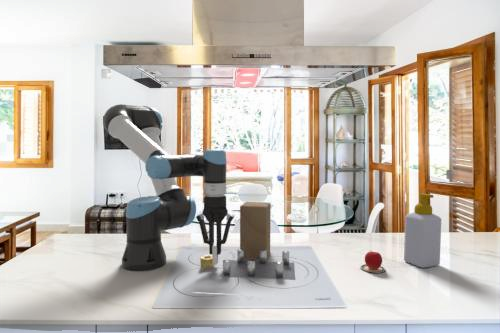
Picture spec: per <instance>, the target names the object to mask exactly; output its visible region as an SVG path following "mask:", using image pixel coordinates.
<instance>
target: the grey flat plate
mask: <svg viewBox="0 0 500 333" xmlns="http://www.w3.org/2000/svg"><path fill="white" fill-rule="evenodd" d="M229 260H230V275H229V276H224V275H223V270H221V273H220V274H219V277H223V278H247V279H248V278H249V279H266V280H268V279H271V280H289V281H290V280H292V281H295V280H296V270H295V269H296V268H295V262H290V261H289V265H283V277H282V278H277V277H276V262H277V261H266V264H260V260H259V261H257V260H254V261H255V276H254V277H249V276H248V261H249V260H244V263H242V264H239V263H237V259H236V260H234V259H233V260H231V259H229Z"/></svg>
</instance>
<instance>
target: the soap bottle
mask: <svg viewBox="0 0 500 333" xmlns="http://www.w3.org/2000/svg"><path fill="white" fill-rule="evenodd" d="M429 198H430V199H432V198H433V199H434V195H433V194H429V193H423V192H422V193H419V202H418V203H417V204H415V206H414V212H410V213H408V214H406V215H405V217H404V243H403V244H404V245H403V246H404V250H403V261H404V262H406V263H408V264H410V263H411V264H410V265H414V266H415V265H416V266H415V267H418V268H421V269H424V268H426V267H427V268H432V267H437V265H438V266H439V265H440V264H441V238H442V218H441V217H440V216H439V215H437V214H434V213H433V207H432V205H430V204H429Z"/></svg>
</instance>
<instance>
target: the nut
mask: <svg viewBox="0 0 500 333" xmlns="http://www.w3.org/2000/svg"><path fill="white" fill-rule="evenodd" d="M214 267H215V265H212V254H205V255H202V256H201V257H200V269H202V270H207V269H214Z"/></svg>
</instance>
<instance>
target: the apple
mask: <svg viewBox="0 0 500 333" xmlns="http://www.w3.org/2000/svg"><path fill="white" fill-rule="evenodd" d="M382 263H383V257H382V255H381V253H379V252H376V251H372V250H370V251H368V252H367V253H365V256H364V263H363V264H361V265H360V269H362V270H363V271H364V272H368V273H369V272H370V273H375V274H376V273H377V274H379V273H383V272H385V271H386V268H385V267H384V266H382Z"/></svg>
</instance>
